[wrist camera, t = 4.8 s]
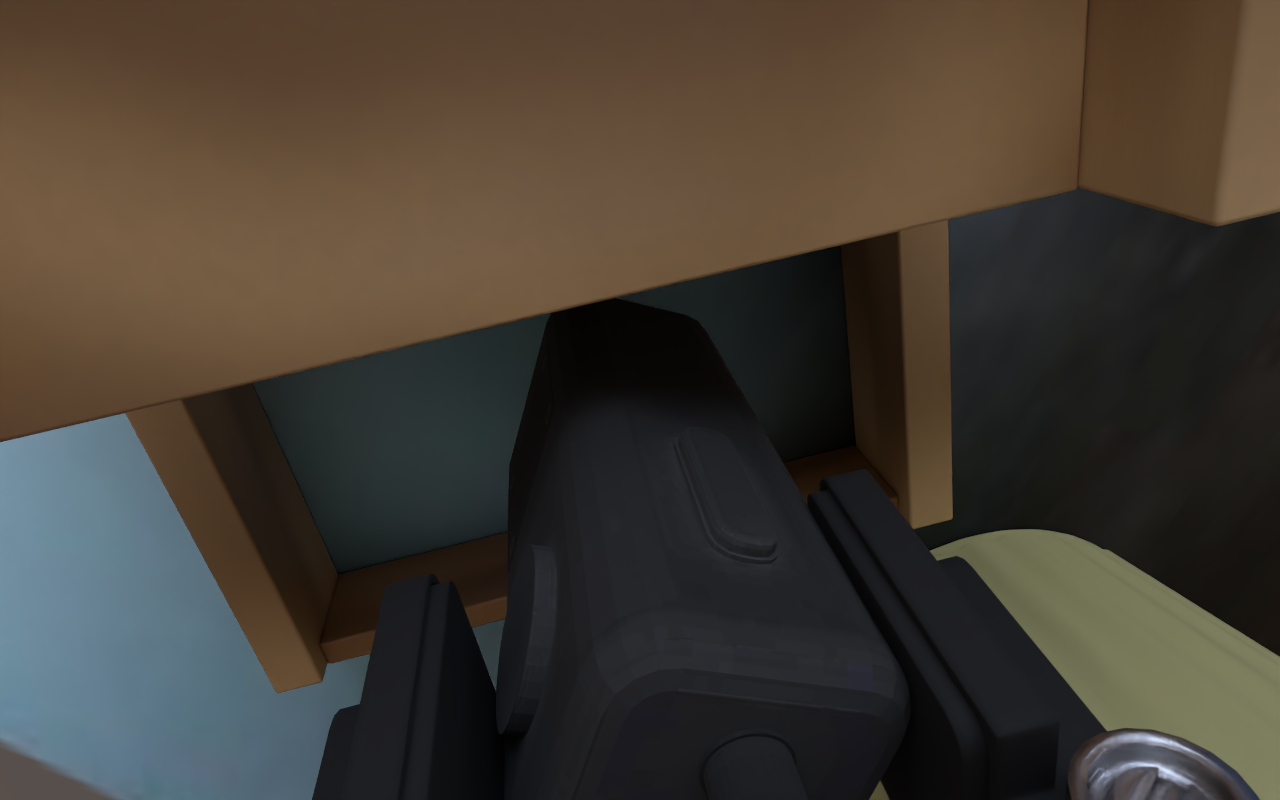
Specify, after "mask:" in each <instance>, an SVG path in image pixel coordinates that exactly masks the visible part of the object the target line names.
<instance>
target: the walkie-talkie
mask: <svg viewBox="0 0 1280 800" xmlns="http://www.w3.org/2000/svg"><path fill="white" fill-rule="evenodd" d="M911 712H912V709H911V700H910V691H909V685H908V682H907V680H906V677H905V675H904V672H903V670H902V668H901V666H900V665H899V663H898V661H897V659H896V658H895V656H894V654H893V653H892V651H891V649H890V647H889V646H888V644H887V642H886V641H885V639H884V637H883V635H882V634H881V632H880V630H879V629H878V627H877V625H876V623H875V622H874V620H873V618H872V617H871V615H870V613H869V611H868V610H867V608H866V606H865V605H864V603H863V601H862V599H861V598H860V596H859V594H858V593H857V591H856V589H855V587H854V586H853V584H852V582H851V581H850V579H849V577H848V575H847V574H846V572H845V570H844V569H843V567H842V565H841V563H840V562H839V560H838V558H837V557H836V555H835V553H834V551H833V550H832V548H831V546H830V545H829V543H828V541H827V539H826V538H825V536H824V534H823V533H822V531H821V529H820V527H819V526H818V524H817V522H816V521H815V519H814V517H813V515H812V514H811V512H810V510H809V509H808V505H807V503H806V502H805V500H804V498H803V496H802V495H801V493H800V491H799V489H798V488H797V486H796V484H795V483H794V481H793V479H792V477H791V476H790V474H789V472H788V471H787V469H786V467H785V465H784V464H783V462H782V460H781V459H780V457H779V455H778V453H777V452H776V450H775V448H774V447H773V445H772V443H771V441H770V440H769V438H768V436H767V435H766V433H765V431H764V429H763V428H762V426H761V424H760V423H759V421H758V419H757V417H756V416H755V414H754V412H753V410H752V409H751V407H750V405H749V404H748V402H747V400H746V398H745V397H744V395H743V393H742V392H741V390H740V388H739V386H738V385H737V383H736V381H735V380H734V378H733V376H732V374H731V373H730V371H729V369H728V368H727V366H726V364H725V362H724V361H723V359H722V357H721V356H720V354H719V352H718V350H717V349H716V347H715V345H714V344H713V342H712V340H711V338H710V337H709V335H708V333H707V332H706V330H705V329H704V328H703V326H702V325H701V324H700V323H699V321H697V320H695V319H693V318H691V317H689V316H687V315H684V314H680V313H676V312H671V311H667V310H663V309H659V308H655V307H651V306H647V305H642V304H638V303H634V302H630V301H626V300H622V299H617V298H613V299H609V300H604V301H600V302H596V303H591V304H587V305H583V306H579V307H574V308H570V309H566V310H562V311H557V312H553V313H551V315H550V317H549V319H548V321H547V324H546V327H545V331H544V334H543V338H542V342H541V346H540V350H539V354H538V357H537V361H536V365H535V369H534V373H533V377H532V380H531V384H530V388H529V392H528V396H527V400H526V403H525V407H524V411H523V415H522V419H521V423H520V426H519V430H518V434H517V438H516V442H515V446H514V449H513V453H512V457H511V461H510V465H509V489H508V555H507V613H506V618H505V623H504V628H503V634H502V640H501V647H500V655H499V664H498V674H497V687H496V721H497V729H498V733H499V734H503V735H505V771H504V800H869V799H870V797H871V795H872V794H873V792H874V790H875V788H876V787H877V785H878V783H879V781H880V780H881V778H882V776H883V774H884V773H885V771H886V769H887V767H888V766H889V764H890V762H891V760H892V759H893V757H894V755H895V754H896V752H897V750H898V748H899V746H900V744H901V742H902V740H903V738H904V735H905V732H906V729H907V727H908V724H909V721H910V718H911Z"/></svg>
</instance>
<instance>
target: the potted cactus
mask: <svg viewBox="0 0 1280 800" xmlns="http://www.w3.org/2000/svg"><path fill="white" fill-rule="evenodd" d="M930 552H931V553H932V555H933V556H934V557H935V558H936V560H941V559H945V558H950V557H954V556H958V557H961V558H963V559H965V560H966V561H967V562H968V563H969V564H970V565H971V566H972V567H973V568H974V570H975V571H976V572H977V573H978V575H979V576H980V577H981V578H982V579H983V581H984V582H985V583H986V584H987V586H988V587H989V588H990V589H991V590H992V592H993V593H994V594H995V595H996V596H997V598H998V599H999V600H1000V601H1001V603H1002V604H1003V605H1004V606H1005V607H1006V609H1007V610H1008V611H1009V612H1010V614H1011V615H1012V616H1013V617H1014V618H1015V620H1016V621H1017V622H1018V623H1019V624H1020V626H1021V627H1022V628H1023V629H1024V631H1025V632H1026V633H1027V634H1028V635H1029V637H1030V638H1031V639H1032V640H1033V642H1034V643H1035V644H1036V645H1037V646H1038V648H1039V649H1040V650H1041V651H1042V652H1043V654H1044V655H1045V656H1046V657H1047V659H1048V660H1049V661H1050V662H1051V663H1052V665H1053V666H1054V667H1055V668H1056V669H1057V671H1058V672H1059V673H1060V674H1061V676H1062V677H1063V678H1064V679H1065V680H1066V682H1067V683H1068V684H1069V685H1070V687H1071V688H1072V689H1073V690H1074V691H1075V693H1076V694H1077V695H1078V696H1079V697H1080V699H1081V700H1082V701H1083V702H1084V704H1085V705H1086V706H1087V707H1088V708H1089V710H1090V711H1091V712H1092V713H1093V715H1094V716H1095V717H1096V718H1097V719H1098V721H1099V722H1100V723H1101V724H1102V725H1103V727H1104V728H1105V729H1106V730H1107V731H1111V730H1116V729H1121V728H1136V729H1152V730H1156V731H1160V732H1163V733H1167V734H1171V735H1174V736H1178V737H1182V738H1184V739H1186V740H1188V741H1190V742H1192V743H1194V744H1196V745H1198V746H1200V747H1202V748H1204V749H1206V750H1208V751H1210V752H1212V753H1213V754H1215V755H1216V756H1217V757H1219V758H1220V759H1221V760H1223V761H1224V762H1225V763H1226V764H1228V765H1229V766H1230V767H1232V768H1233V769H1234V770H1236V771H1237V772H1238V773H1239V775H1240V776H1241V777H1242V778H1243V779H1244V780H1245V782H1246V783H1247V784H1248V785H1249V786H1250V787H1251V789H1252V790H1253V791H1254V792H1255V793H1256V794H1257V796H1258V797H1259V799H1260V800H1280V657H1279V656H1277V655H1276V654H1274V653H1273V652H1271V651H1269V650H1268V649H1266V648H1264V647H1263V646H1261V645H1260V644H1258V643H1256V642H1255V641H1253V640H1252V639H1250V638H1248V637H1247V636H1245V635H1244V634H1242V633H1240V632H1239V631H1237V630H1236V629H1234V628H1232V627H1231V626H1229V625H1228V624H1226V623H1224V622H1223V621H1221V620H1220V619H1218V618H1216V617H1215V616H1213V615H1212V614H1210V613H1208V612H1207V611H1205V610H1204V609H1202V608H1200V607H1199V606H1197V605H1196V604H1194V603H1192V602H1191V601H1189V600H1188V599H1186V598H1184V597H1183V596H1181V595H1180V594H1178V593H1176V592H1175V591H1173V590H1171V589H1170V588H1168V587H1167V586H1165V585H1163V584H1162V583H1160V582H1159V581H1157V580H1155V579H1154V578H1152V577H1151V576H1149V575H1147V574H1146V573H1144V572H1143V571H1141V570H1139V569H1138V568H1136V567H1135V566H1133V565H1131V564H1130V563H1128V562H1127V561H1125V560H1123V559H1122V558H1120V557H1119V556H1117V555H1115V554H1114V553H1112V552H1111V551H1109V550H1104V549H1101V548H1100V547H1098V546H1096V545H1094V544H1092V543H1090V542H1088V541H1085V540H1083V539H1080V538H1078V537H1075V536H1072V535H1068V534H1064V533H1059V532H1053V531H1047V530H1037V529H1021V530H1003V531H996V532H990V533H985V534H980V535H976V536H971V537H967V538H964V539H960V540H957V541H954V542H952V543H949V544H946V545H944V546H941V547H938V548H936V549H933V550H931V551H930ZM869 800H890V799H889V797H888V795H887V793H886V791H885V789H884V787H883V785H882V783H881V781H879V783H878V785H877V787H876V788H875V790H874V792H873V794H872V795H871V797H870V799H869Z"/></svg>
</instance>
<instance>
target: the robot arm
mask: <svg viewBox="0 0 1280 800" xmlns="http://www.w3.org/2000/svg"><path fill="white" fill-rule="evenodd" d="M819 487H820V491H819V492H815V493H811V494H809V495H808V497H807V505H808V509H809V510H810V512H811V514H812V515H813V517H814V519H815V521H816V522H817V524H818V526H819V527H820V529H821V531H822V533H823V534H824V536H825V538H826V539H827V541H828V543H829V545H830V546H831V548H832V550H833V551H834V553H835V555H836V557H837V558H838V560H839V562H840V563H841V565H842V567H843V569H844V570H845V572H846V574H847V575H848V577H849V579H850V581H851V582H852V584H853V586H854V587H855V589H856V591H857V593H858V594H859V596H860V598H861V599H862V601H863V603H864V605H865V606H866V608H867V610H868V611H869V613H870V615H871V617H872V618H873V620H874V622H875V623H876V625H877V627H878V629H879V630H880V632H881V634H882V635H883V637H884V639H885V641H886V642H887V644H888V646H889V647H890V649H891V651H892V653H893V654H894V656H895V658H896V659H897V661H898V663H899V665H900V666H901V668H902V670H903V672H904V675H905V677H906V680H907V682H908V685H909V691H910V700H911V709H912V712H911V718H910V721H909V724H908V727H907V729H906V732H905V735H904V738H903V740H902V742H901V744H900V746H899V748H898V750H897V752H896V754H895V755H894V757H893V759H892V760H891V762H890V764H889V766H888V767H887V769H886V771H885V773H884V774H883V776H882V778H881V780H880V781H881V783H882V785H883V787H884V789H885V791H886V793H887V795H888V797H889V799H890V800H1260V799H1259V797H1258V796H1257V794H1256V793H1255V792H1254V791H1253V790H1252V789H1251V787H1250V786H1249V785H1248V784H1247V783H1246V782H1245V780H1244V779H1243V778H1242V777H1241V776H1240V775H1239V773H1238V772H1237V771H1236V770H1234V769H1233V768H1232V767H1230V766H1229V765H1228V764H1226V763H1225V762H1224V761H1223V760H1221V759H1220V758H1219V757H1217V756H1216V755H1215V754H1213V753H1212V752H1210V751H1208V750H1206V749H1204V748H1202V747H1200V746H1198V745H1196V744H1194V743H1192V742H1190V741H1188V740H1186V739H1184V738H1182V737H1178V736H1174V735H1171V734H1167V733H1163V732H1160V731H1156V730H1152V729H1136V728H1121V729H1116V730H1111V731H1107V730H1106V729H1105V728H1104V727H1103V725H1102V724H1101V723H1100V722H1099V721H1098V719H1097V718H1096V717H1095V716H1094V715H1093V713H1092V712H1091V711H1090V710H1089V708H1088V707H1087V706H1086V705H1085V704H1084V702H1083V701H1082V700H1081V699H1080V697H1079V696H1078V695H1077V694H1076V693H1075V691H1074V690H1073V689H1072V688H1071V687H1070V685H1069V684H1068V683H1067V682H1066V680H1065V679H1064V678H1063V677H1062V676H1061V674H1060V673H1059V672H1058V671H1057V669H1056V668H1055V667H1054V666H1053V665H1052V663H1051V662H1050V661H1049V660H1048V659H1047V657H1046V656H1045V655H1044V654H1043V652H1042V651H1041V650H1040V649H1039V648H1038V646H1037V645H1036V644H1035V643H1034V642H1033V640H1032V639H1031V638H1030V637H1029V635H1028V634H1027V633H1026V632H1025V631H1024V629H1023V628H1022V627H1021V626H1020V624H1019V623H1018V622H1017V621H1016V620H1015V618H1014V617H1013V616H1012V615H1011V614H1010V612H1009V611H1008V610H1007V609H1006V607H1005V606H1004V605H1003V604H1002V603H1001V601H1000V600H999V599H998V598H997V596H996V595H995V594H994V593H993V592H992V590H991V589H990V588H989V587H988V586H987V584H986V583H985V582H984V581H983V579H982V578H981V577H980V576H979V575H978V573H977V572H976V571H975V570H974V568H973V567H972V566H971V565H970V564H969V563H968V562H967V561H966V560H965V559H963V558H961V557H958V556H954V557H950V558H945V559H941V560H936V558H935V557H934V556H933V555H932V553H931V552H930V551H929V549H928V548H927V547H926V545H925V544H924V543H923V541H922V540H921V539H920V538H919V536H918V535H917V534H916V532H915V531H914V530H913V528H912V527H911V526H910V525H909V523H908V522H907V521H906V519H905V518H904V517H903V515H902V514H901V513H900V512H899V510H898V509H897V508H896V506H895V505H894V504H893V502H892V501H891V500H890V499H889V497H888V496H887V495H886V493H885V492H884V491H883V489H882V488H881V487H880V486H879V484H878V483H877V482H876V480H875V479H874V478H873V476H872V475H871V474H870V473H869V472H868V471H867V470H865V469H861V470H857V471H852V472H848V473H844V474H840V475H836V476H832V477H828V478H823V479H822V480H821V481H820V486H819ZM504 771H505V735H503V734H499V733H498V729H497V721H496V691H495V689H494V686H493V683H492V681H491V678H490V675H489V673H488V670H487V667H486V665H485V662H484V659H483V657H482V654H481V651H480V649H479V646H478V643H477V641H476V638H475V635H474V633H473V630H472V627H471V625H470V622H469V619H468V617H467V614H466V611H465V609H464V606H463V603H462V601H461V598H460V595H459V593H458V590H457V588H456V586H455V584H454V583H453V582H452V581H449V582H445V583H441V584H440V583H439V581H438V579H437V577H436V576H435V575H434V574H428V575H423V576H419V577H415V578H411V579H407V580H403V581H399V582H395V583H390V584H388V585H387V586H386V587H385V590H384V593H383V598H382V603H381V608H380V612H379V617H378V622H377V626H376V631H375V636H374V641H373V645H372V650H371V655H370V659H369V664H368V669H367V673H366V678H365V683H364V688H363V692H362V697H361V702H360V704H359V705H355V706H351V707H347V708H343V709H340V710H339V711H338V712H337V713H336V714H335V716H334V718H333V721H332V723H331V726H330V729H329V734H328V738H327V742H326V746H325V750H324V754H323V758H322V762H321V766H320V770H319V774H318V778H317V782H316V786H315V790H314V794H313V798H312V800H504Z"/></svg>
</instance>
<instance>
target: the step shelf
mask: <svg viewBox="0 0 1280 800" xmlns="http://www.w3.org/2000/svg"><path fill="white" fill-rule="evenodd" d="M1077 187H1079V188H1082V189H1086V190H1089V191H1093V192H1096V193H1100V194H1103V195H1107V196H1110V197H1114V198H1117V199H1121V200H1124V201H1128V202H1131V203H1135V204H1138V205H1142V206H1145V207H1149V208H1152V209H1155V210H1159V211H1162V212H1166V213H1169V214H1173V215H1176V216H1180V217H1183V218H1187V219H1190V220H1194V221H1197V222H1201V223H1204V224H1208V225H1211V226H1216V227H1217V226H1222V225H1226V224H1230V223H1234V222H1239V221H1243V220H1247V219H1251V218H1255V217H1259V216H1264V215H1268V214H1272V213H1276V212H1280V0H0V442H3V441H7V440H12V439H16V438H20V437H25V436H29V435H33V434H37V433H42V432H46V431H50V430H54V429H59V428H63V427H67V426H71V425H76V424H80V423H84V422H88V421H93V420H97V419H101V418H106V417H110V416H114V415H118V414H123V413H125V414H126V415H127V417H128V419H129V421H130V423H131V425H132V427H133V428H134V430H135V432H136V434H137V436H138V438H139V439H140V441H141V443H142V445H143V447H144V449H145V451H146V452H147V454H148V456H149V458H150V460H151V462H152V464H153V465H154V467H155V469H156V471H157V473H158V475H159V476H160V478H161V480H162V482H163V484H164V486H165V488H166V489H167V491H168V493H169V495H170V497H171V499H172V501H173V502H174V504H175V506H176V508H177V510H178V512H179V513H180V515H181V517H182V519H183V521H184V523H185V525H186V526H187V528H188V530H189V532H190V534H191V536H192V538H193V539H194V541H195V543H196V545H197V547H198V549H199V550H200V552H201V554H202V556H203V558H204V560H205V562H206V563H207V565H208V567H209V569H210V571H211V573H212V575H213V576H214V578H215V580H216V582H217V584H218V586H219V588H220V589H221V591H222V593H223V595H224V597H225V599H226V600H227V602H228V604H229V606H230V608H231V610H232V612H233V613H234V615H235V617H236V619H237V621H238V623H239V625H240V626H241V628H242V630H243V632H244V634H245V636H246V637H247V639H248V641H249V643H250V645H251V647H252V649H253V650H254V652H255V654H256V656H257V658H258V660H259V662H260V663H261V665H262V667H263V669H264V671H265V673H266V674H267V676H268V678H269V680H270V682H271V684H272V686H273V687H274V689H275V691H276V692H277V693H281V692H285V691H289V690H293V689H297V688H301V687H304V686H308V685H312V684H316V683H320V682H322V681H323V678H324V674H325V670H326V667H327V663H335V662H339V661H343V660H347V659H351V658H355V657H359V656H363V655H366V654H370V653H371V650H372V645H373V641H374V636H375V631H376V626H377V622H378V617H379V612H380V608H381V603H382V598H383V593H384V590H385V587H386V586H387V585H388V584H390V583H395V582H399V581H403V580H407V579H411V578H415V577H419V576H423V575H428V574H434V575H435V576H436V577H437V579H438V581H439V583H440V584H441V583H445V582H449V581H452V582H453V583H454V584H455V586H456V588H457V590H458V593H459V595H460V598H461V601H462V603H463V606H464V609H465V611H466V614H467V617H468V619H469V622H470V625H471V627H475V626H479V625H483V624H487V623H491V622H495V621H499V620H503V619H505V618H506V613H507V555H508V532H506V533H502V534H498V535H494V536H490V537H486V538H482V539H478V540H474V541H470V542H466V543H462V544H458V545H454V546H450V547H446V548H442V549H438V550H434V551H430V552H426V553H423V554H419V555H415V556H411V557H407V558H403V559H399V560H395V561H391V562H387V563H383V564H379V565H375V566H371V567H367V568H363V569H359V570H355V571H351V572H347V573H343V574H341V575H339V576H338V573H337V571H336V569H335V567H334V565H333V562H332V560H331V558H330V556H329V553H328V551H327V549H326V547H325V545H324V542H323V540H322V538H321V536H320V534H319V531H318V529H317V527H316V525H315V522H314V520H313V518H312V516H311V514H310V511H309V509H308V507H307V505H306V502H305V500H304V498H303V496H302V494H301V491H300V489H299V487H298V485H297V483H296V480H295V478H294V476H293V474H292V471H291V469H290V467H289V465H288V463H287V460H286V458H285V456H284V454H283V452H282V449H281V447H280V445H279V443H278V440H277V438H276V436H275V434H274V432H273V429H272V427H271V425H270V423H269V421H268V418H267V416H266V414H265V412H264V409H263V407H262V405H261V403H260V401H259V398H258V396H257V394H256V392H255V390H254V387H253V385H252V383H255V382H259V381H263V380H268V379H272V378H276V377H280V376H285V375H289V374H293V373H297V372H302V371H306V370H310V369H314V368H319V367H323V366H327V365H331V364H336V363H340V362H344V361H349V360H353V359H357V358H361V357H366V356H370V355H374V354H378V353H383V352H387V351H391V350H395V349H400V348H404V347H408V346H412V345H417V344H421V343H425V342H429V341H434V340H438V339H442V338H447V337H451V336H455V335H459V334H464V333H468V332H472V331H476V330H481V329H485V328H489V327H493V326H498V325H502V324H506V323H510V322H515V321H519V320H523V319H528V318H532V317H536V316H540V315H545V314H549V313H553V312H557V311H562V310H566V309H570V308H574V307H579V306H583V305H587V304H591V303H596V302H600V301H604V300H609V299H613V298H617V297H621V296H626V295H630V294H634V293H638V292H643V291H647V290H651V289H655V288H660V287H664V286H668V285H672V284H677V283H681V282H685V281H690V280H694V279H698V278H702V277H707V276H711V275H715V274H719V273H724V272H728V271H732V270H736V269H741V268H745V267H749V266H753V265H758V264H762V263H766V262H771V261H775V260H779V259H783V258H788V257H792V256H796V255H800V254H805V253H809V252H813V251H817V250H822V249H826V248H830V247H834V246H839V245H841V256H842V269H843V282H844V295H845V308H846V321H847V334H848V347H849V360H850V373H851V386H852V399H853V412H854V425H855V437H856V446H850V447H846V448H842V449H838V450H834V451H830V452H826V453H822V454H818V455H814V456H810V457H806V458H802V459H798V460H794V461H790V462H786V463H783V464H784V465H785V467H786V469H787V471H788V472H789V474H790V476H791V477H792V479H793V481H794V483H795V484H796V486H797V488H798V489H799V491H800V493H801V495H802V496H803V498H804V500H805V502H806V503H807V497H808V495H809V494H811V493H815V492H819V491H820V487H819V486H820V481H821V480H822V479H823V478H828V477H832V476H836V475H840V474H844V473H848V472H852V471H857V470H861V469H865V470H867V471H868V472H869V473H870V474H871V475H872V476H873V478H874V479H875V480H876V482H877V483H878V484H879V486H880V487H881V488H882V489H883V491H884V492H885V493H886V495H887V496H888V497H889V499H890V500H891V501H892V502H893V504H894V505H895V506H896V508H897V509H898V510H899V512H900V513H901V514H902V515H903V517H904V518H905V519H906V521H907V522H908V523H909V525H910V526H911V527H912V528H913V529H916V528H920V527H924V526H928V525H931V524H935V523H939V522H943V521H947V520H951V519H952V518H953V509H952V444H951V379H950V314H949V248H948V220H950V219H954V218H958V217H962V216H967V215H971V214H975V213H979V212H984V211H988V210H992V209H996V208H1001V207H1005V206H1009V205H1014V204H1018V203H1022V202H1026V201H1031V200H1035V199H1039V198H1043V197H1048V196H1052V195H1056V194H1060V193H1065V192H1069V191H1073V190H1075V189H1077Z"/></svg>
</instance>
